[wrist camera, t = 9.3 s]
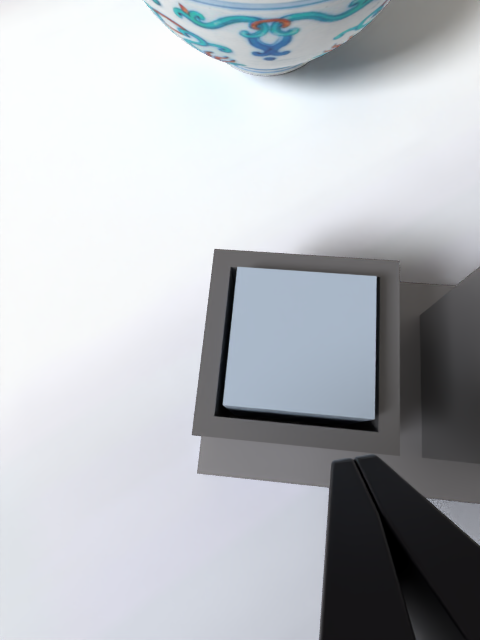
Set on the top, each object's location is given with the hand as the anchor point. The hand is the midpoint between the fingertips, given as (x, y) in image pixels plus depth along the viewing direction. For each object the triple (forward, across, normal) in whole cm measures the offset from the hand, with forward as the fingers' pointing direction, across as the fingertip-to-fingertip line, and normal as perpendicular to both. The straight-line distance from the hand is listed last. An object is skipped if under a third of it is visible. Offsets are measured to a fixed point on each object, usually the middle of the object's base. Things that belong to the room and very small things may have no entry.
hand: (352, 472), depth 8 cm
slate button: (+8, 0, +3) cm, 9 cm away
